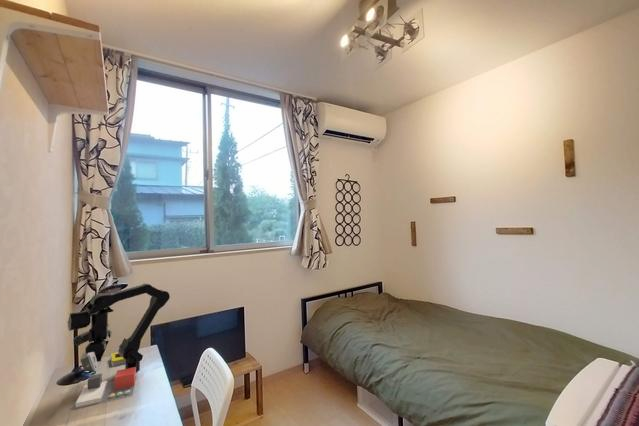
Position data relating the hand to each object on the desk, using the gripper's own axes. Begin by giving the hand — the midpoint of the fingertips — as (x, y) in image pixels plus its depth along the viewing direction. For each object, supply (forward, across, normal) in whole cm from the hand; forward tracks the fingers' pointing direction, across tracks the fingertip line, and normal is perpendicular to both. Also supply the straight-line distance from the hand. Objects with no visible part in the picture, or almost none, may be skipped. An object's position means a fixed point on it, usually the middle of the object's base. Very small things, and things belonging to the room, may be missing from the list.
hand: (98, 361), depth 127 cm
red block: (+9, +7, +10) cm, 15 cm away
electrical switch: (+10, -17, -6) cm, 21 cm away
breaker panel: (+10, +10, +4) cm, 15 cm away
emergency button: (+11, -23, +6) cm, 26 cm away
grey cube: (+7, +7, 0) cm, 10 cm away
